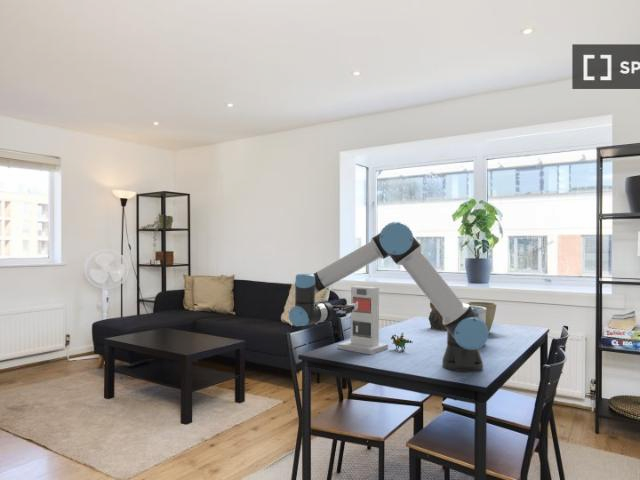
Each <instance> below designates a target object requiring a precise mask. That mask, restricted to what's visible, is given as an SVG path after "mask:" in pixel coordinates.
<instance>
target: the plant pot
mask: <svg viewBox="0 0 640 480" xmlns="http://www.w3.org/2000/svg"><path fill="white" fill-rule="evenodd" d="M467 304H468V305H473V306H481V307H485V308H486V323H485V324H486V326H487V328H488V333H490V331H491V328H492V326H493V323H494V320H495V314H496V309H497V303H493V302H485V301H468V302H467Z"/></svg>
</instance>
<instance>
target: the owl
mask: <svg viewBox="0 0 640 480" xmlns="http://www.w3.org/2000/svg"><path fill="white" fill-rule="evenodd" d="M429 302H430V303H429V307H430V309H431V311H430V312H429V316H428V321H429V324H430V328H431V329H436V330H440V331H446V332H447V329H446V327H445V326H444V325H443V317H442V315H441V314H440V313H439V312H438V310H437V309H436V308H435V306H434V305H433V304H432V303H431V301H429Z"/></svg>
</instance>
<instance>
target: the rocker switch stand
mask: <svg viewBox="0 0 640 480" xmlns="http://www.w3.org/2000/svg"><path fill="white" fill-rule="evenodd" d="M353 299H365V300H371V311H358V310H354V311H352V312H351V313H350V340H347V341H344V342H339V343H337V349H340V350H345V351H349V352H355V353H361V354H366V355H374V354H376V353H380V352H383V351H386V350H388V349H389V344H385V343H381V342H380V340H379V339H380V335H379V334H380V333H379V331H380V330H379V329H380V327H379V325H380V323H379V322H380V318H379V317H380V287H378V286H377V287H376V286H363V285H362V286H361V285H353V286H350V304H353ZM353 323H363V324H371V335H370V336H367V335H357V334H353Z"/></svg>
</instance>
